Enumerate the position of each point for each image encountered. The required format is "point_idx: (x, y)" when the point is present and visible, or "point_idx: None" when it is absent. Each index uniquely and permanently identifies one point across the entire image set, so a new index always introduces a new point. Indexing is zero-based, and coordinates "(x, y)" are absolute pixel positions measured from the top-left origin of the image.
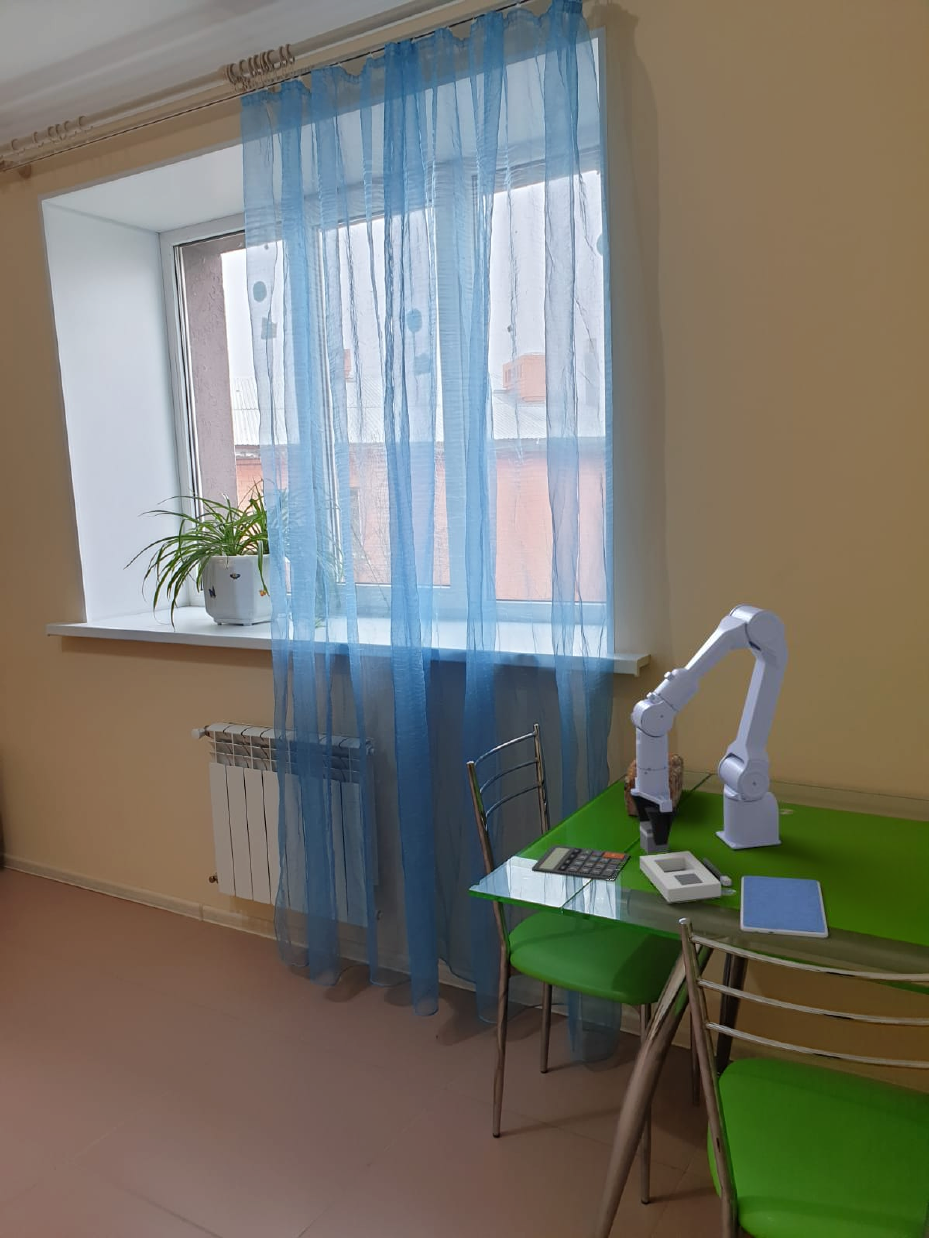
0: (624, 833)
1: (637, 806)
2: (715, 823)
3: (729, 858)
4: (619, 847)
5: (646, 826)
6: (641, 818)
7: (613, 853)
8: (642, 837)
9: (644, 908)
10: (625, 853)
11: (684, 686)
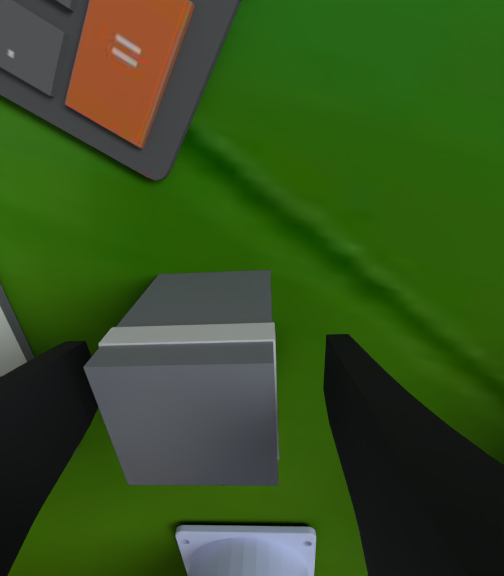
0: (500, 240)
1: (408, 494)
2: None
3: (114, 498)
4: (300, 149)
5: (161, 380)
6: (351, 394)
7: (156, 60)
8: (225, 304)
9: None
10: (172, 157)
11: None
